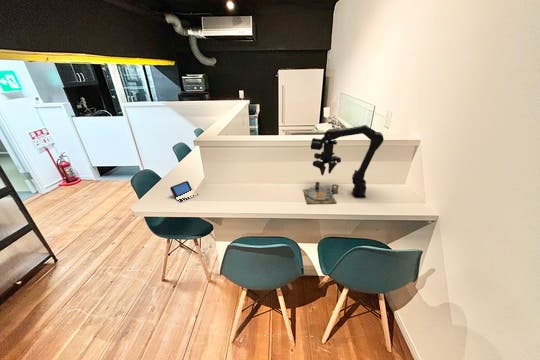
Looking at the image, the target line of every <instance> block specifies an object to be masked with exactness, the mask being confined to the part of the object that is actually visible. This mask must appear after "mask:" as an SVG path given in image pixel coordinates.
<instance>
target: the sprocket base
mask: <svg viewBox="0 0 540 360" xmlns="http://www.w3.org/2000/svg"><path fill="white" fill-rule="evenodd" d="M326 189H327V190H328V191H330V192H331V188H326ZM308 190H309V188H303V189H302V192H303V195H304V199H305V201H306V205H337V201H336V199H335V197H334V194H333V195H331V197H330V200H329V201H326V200H325V201H313V199H311V198H309V197H308V196H306V195H305V194H306V192H308Z"/></svg>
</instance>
